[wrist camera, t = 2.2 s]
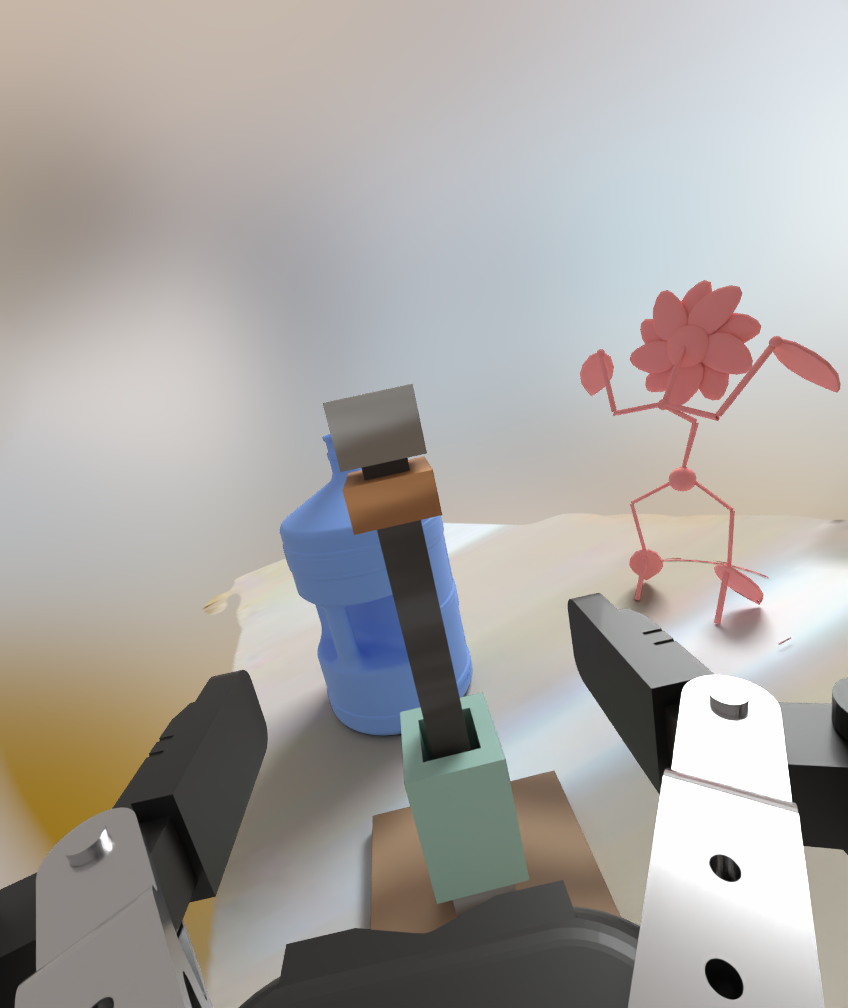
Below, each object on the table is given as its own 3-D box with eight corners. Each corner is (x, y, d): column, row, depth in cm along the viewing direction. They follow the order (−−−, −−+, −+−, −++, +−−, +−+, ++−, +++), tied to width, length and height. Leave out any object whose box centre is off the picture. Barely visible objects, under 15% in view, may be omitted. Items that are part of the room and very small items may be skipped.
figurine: (814, 658, 41) (826, 234, 33) (576, 586, 62) (545, 319, 54) (866, 592, 49) (887, 237, 40) (639, 549, 70) (621, 310, 62)
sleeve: (529, 880, 24) (505, 759, 22) (437, 904, 24) (404, 784, 22) (504, 797, 29) (483, 692, 27) (427, 816, 29) (400, 712, 26)
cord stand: (668, 1035, 21) (601, 344, 13) (373, 1117, 21) (114, 448, 13) (556, 783, 35) (489, 367, 27) (376, 828, 34) (252, 417, 26)
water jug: (385, 636, 60) (331, 428, 53) (495, 652, 52) (449, 407, 45) (302, 720, 47) (216, 461, 40) (431, 759, 39) (352, 441, 32)
